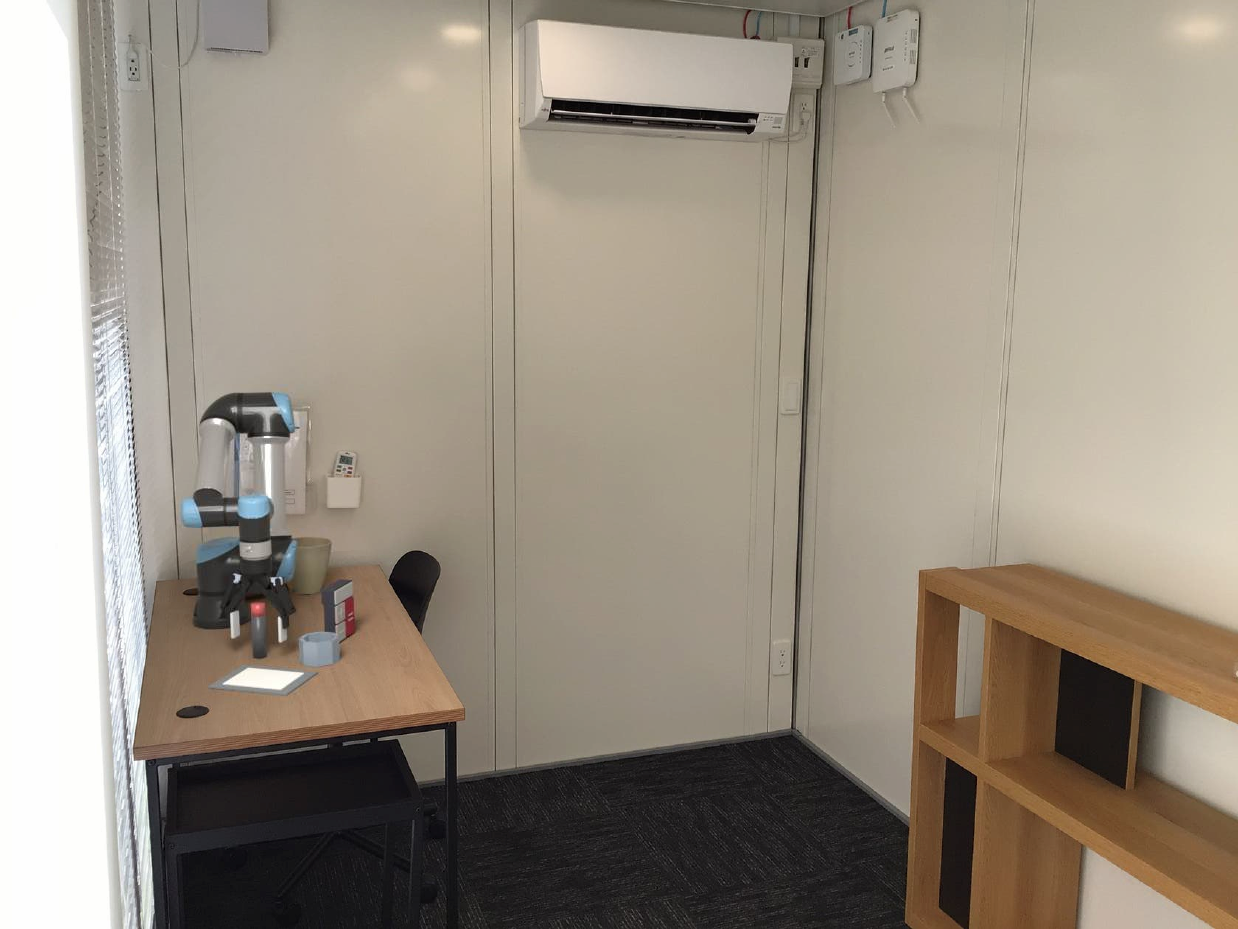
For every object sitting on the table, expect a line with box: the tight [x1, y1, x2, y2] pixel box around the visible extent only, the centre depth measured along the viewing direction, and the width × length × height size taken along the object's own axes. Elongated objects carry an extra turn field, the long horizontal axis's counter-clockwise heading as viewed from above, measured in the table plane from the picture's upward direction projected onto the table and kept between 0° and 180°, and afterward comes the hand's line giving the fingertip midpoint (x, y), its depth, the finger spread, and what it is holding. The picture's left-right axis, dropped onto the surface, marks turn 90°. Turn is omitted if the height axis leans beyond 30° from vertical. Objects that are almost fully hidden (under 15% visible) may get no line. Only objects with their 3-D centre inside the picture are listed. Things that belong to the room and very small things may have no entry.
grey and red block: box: [320, 578, 356, 643], centre depth 277 cm, size 11×4×15 cm, turn 168°
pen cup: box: [298, 631, 341, 668], centre depth 261 cm, size 9×9×6 cm
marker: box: [250, 600, 268, 660], centre depth 262 cm, size 3×3×14 cm
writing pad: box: [207, 664, 319, 697], centre depth 247 cm, size 20×15×1 cm
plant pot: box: [290, 536, 333, 595], centre depth 321 cm, size 15×15×16 cm
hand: (259, 638), depth 263 cm, fingers open, 12 cm apart
